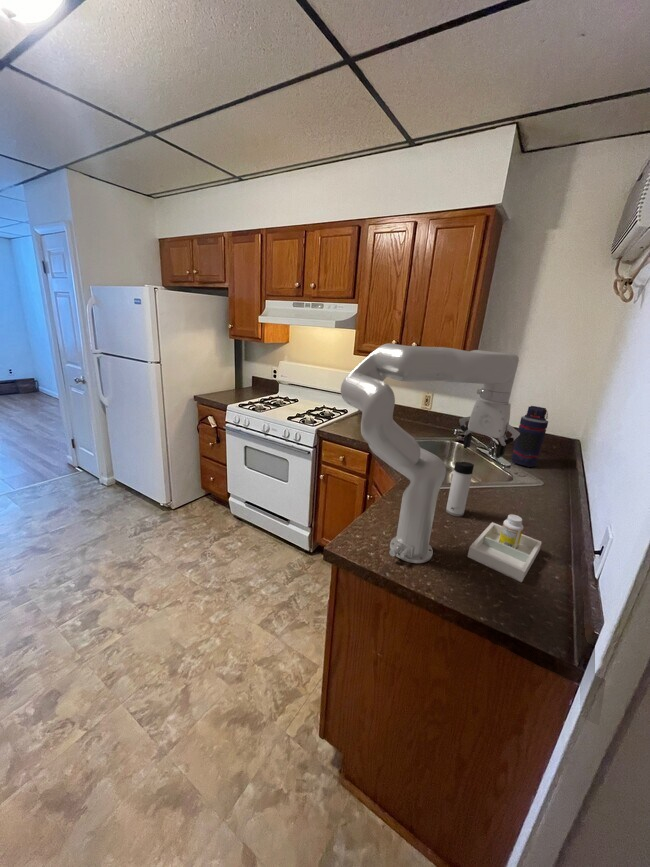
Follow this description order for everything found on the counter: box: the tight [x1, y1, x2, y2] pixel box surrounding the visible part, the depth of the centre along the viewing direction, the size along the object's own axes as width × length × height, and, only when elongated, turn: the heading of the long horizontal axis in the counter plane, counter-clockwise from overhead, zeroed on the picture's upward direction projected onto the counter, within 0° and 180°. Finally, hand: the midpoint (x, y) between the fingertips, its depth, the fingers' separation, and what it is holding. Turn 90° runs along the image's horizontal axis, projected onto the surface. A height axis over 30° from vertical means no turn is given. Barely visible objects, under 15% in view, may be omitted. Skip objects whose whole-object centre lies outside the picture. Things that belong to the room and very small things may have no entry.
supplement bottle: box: [499, 514, 524, 549], centre depth 111 cm, size 6×6×10 cm
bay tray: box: [467, 521, 542, 583], centre depth 109 cm, size 20×15×4 cm
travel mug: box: [445, 461, 475, 517], centre depth 129 cm, size 6×7×20 cm
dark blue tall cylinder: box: [510, 405, 549, 468], centre depth 181 cm, size 14×12×30 cm
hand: (482, 452), depth 108 cm, fingers open, 9 cm apart
